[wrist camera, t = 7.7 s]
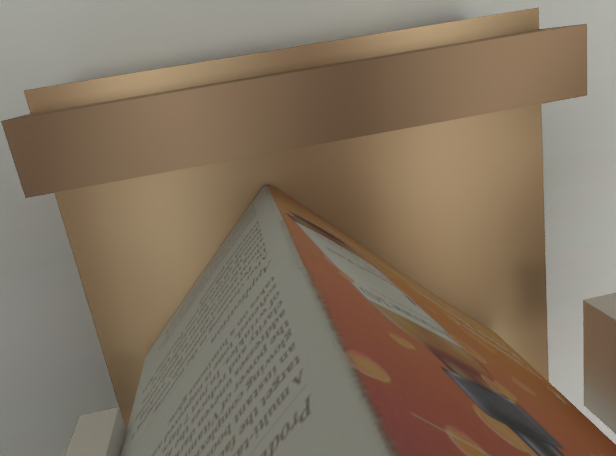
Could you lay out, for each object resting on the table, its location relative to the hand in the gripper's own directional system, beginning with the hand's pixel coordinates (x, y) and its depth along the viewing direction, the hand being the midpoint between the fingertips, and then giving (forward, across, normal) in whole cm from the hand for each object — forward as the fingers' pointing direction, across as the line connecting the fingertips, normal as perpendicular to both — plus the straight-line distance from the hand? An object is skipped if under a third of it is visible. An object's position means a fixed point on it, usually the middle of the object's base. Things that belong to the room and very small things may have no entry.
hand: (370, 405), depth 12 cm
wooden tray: (+7, 0, 0) cm, 7 cm away
